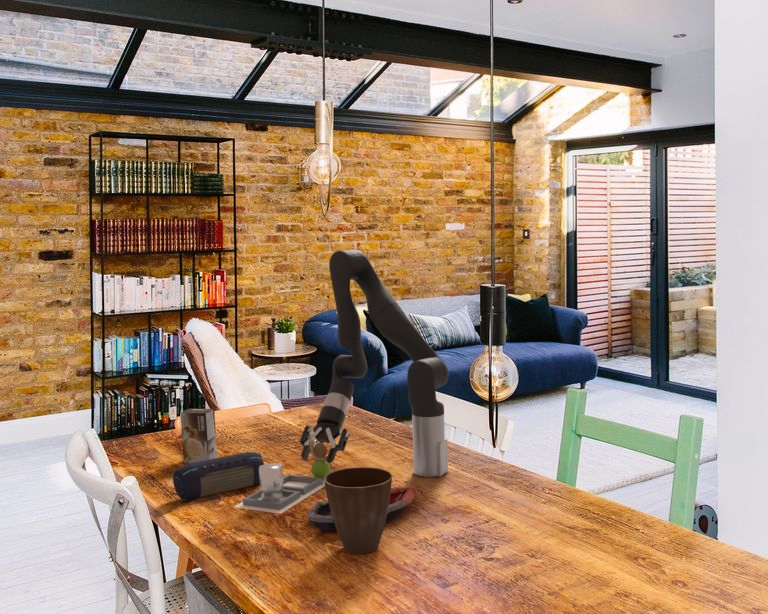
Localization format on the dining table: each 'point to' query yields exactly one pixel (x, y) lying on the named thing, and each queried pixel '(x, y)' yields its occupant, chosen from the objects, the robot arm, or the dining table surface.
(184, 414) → the coffee box
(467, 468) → the dining table surface
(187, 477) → the portable speaker
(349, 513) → the plant pot
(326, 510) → the dish
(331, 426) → the robot arm
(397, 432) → the dining table surface
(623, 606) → the dining table surface
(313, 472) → the snail figurine
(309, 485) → the compartment tray
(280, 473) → the silver metal cylinder
